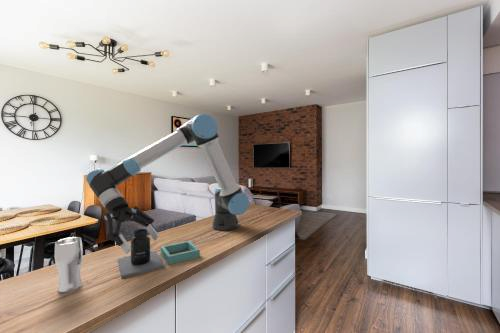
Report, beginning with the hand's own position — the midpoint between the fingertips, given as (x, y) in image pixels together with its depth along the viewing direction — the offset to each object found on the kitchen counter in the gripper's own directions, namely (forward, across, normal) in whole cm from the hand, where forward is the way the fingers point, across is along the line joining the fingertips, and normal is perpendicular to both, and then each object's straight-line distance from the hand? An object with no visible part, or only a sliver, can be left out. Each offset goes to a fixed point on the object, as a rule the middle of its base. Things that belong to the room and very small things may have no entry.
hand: (144, 244), depth 89 cm
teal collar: (+10, -12, -1) cm, 16 cm away
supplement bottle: (+4, 0, -6) cm, 7 cm away
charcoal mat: (+4, 0, -7) cm, 8 cm away
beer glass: (-1, +20, -13) cm, 24 cm away
